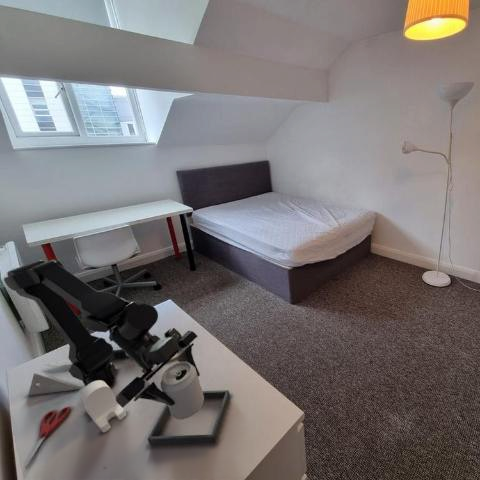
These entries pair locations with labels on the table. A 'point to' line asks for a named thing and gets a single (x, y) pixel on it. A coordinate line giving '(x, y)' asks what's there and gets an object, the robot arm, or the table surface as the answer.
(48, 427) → the scissors
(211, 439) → the dark grey rectangular frame
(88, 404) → the white phone stand
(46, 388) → the grey triangular spike
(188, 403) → the can
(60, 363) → the knife
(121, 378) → the table surface
